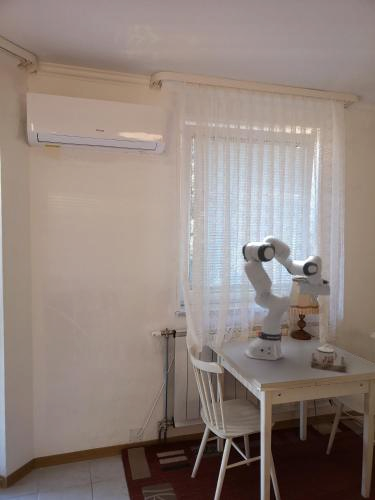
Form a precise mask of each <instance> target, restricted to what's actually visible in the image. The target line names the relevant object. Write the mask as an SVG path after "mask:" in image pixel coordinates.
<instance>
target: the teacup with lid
mask: <svg viewBox="0 0 375 500" xmlns="http://www.w3.org/2000/svg"><path fill="white" fill-rule="evenodd" d="M316 350H317V359H316V362H318V363H326V364H333V365H334V361H335V360H337V359H338V353H337V352H335V350H334V349H333V348H331V347H330V346H328V344H327V343H326V344H324V345H322V346H319V347H317V349H316Z"/></svg>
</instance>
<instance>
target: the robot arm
mask: <svg viewBox="0 0 375 500" xmlns="http://www.w3.org/2000/svg"><path fill="white" fill-rule="evenodd" d="M241 250H242V251H241V252H242V256H243V259H244V261H245V262H246V263H245V264H244V272H245V274H246V277H247V278H248V281H249V283H250V284H251V286H252V287H253V289H254V291H255V296H254V303H255V304H256V305H257V306H259V307H260V308H263V309H267V310H268V312H267V315H266V316H264V317H263V318H262V320H261V322H262V326H261V331H260V330H257V331H256V334H257V335H258V337H257V338H255V339H254V340H253V341H251V342H250V343H249V347H248V349H246V350H244V355H245V356H246V357H247V358H249V359H257V360H268V361H277V360H278V359H281V358H283V353H282V345H281V343H282V332H281V330H282V320H283V317H284V315H285V314H286V312H288V311H289V310H290V309H291V307H292V300H291V298H290V297H289V296H288V295H286V294H284V293H280V292H276V291H273V290H272V285H273V281H272V279H271V278H270V276H269V274H268V273H267V271H266V269H265V268H264V266H263V263H267V262H271V261H272V260H273V259H275V260H276V261H277V262H278V263H280V265H282V266H283V267H284V268H285V269H286V272H288V273H289V274H290V275H292V276H302V277H306V280H299V281H298V282H297V295H300V296H301V295H302V296H305V295H306V296H307V295H308V296H309V298H310V302H311V303H317V299H318V298H319V296H330V295H331V286H330V285H329V284H330V281H329V280H327V279H324V278H322V277H323V275H322V271H323V259H322V257H320V256H318V255H309V256H308V258H306V259H305V260H299V259H291V257H290V255H291V248H290V247H289V245H288V244H286V243H285V242H284V241H282V240H281V239H280V238H277V237H275V236H273V235H268V236H265V238H264V239H263V241H262V242H260V241H259V242H258V241H248V242H246V243H244V244H243V246H242V248H241ZM313 296H314V298H313Z"/></svg>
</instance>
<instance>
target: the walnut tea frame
mask: <svg viewBox="0 0 375 500" xmlns="http://www.w3.org/2000/svg"><path fill="white" fill-rule="evenodd" d="M311 353H312V354H311V361H310V362H311V363H310V364H311V365H310V367H311V368H313V369H320V370H327V371H332V372H333V371H334V372H340V373H346V362H345V358H344V356H341V361H340V363H341V365H340V364H334V363H333V364H326V363H318V362H317V361H315V353H314V352H311Z"/></svg>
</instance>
